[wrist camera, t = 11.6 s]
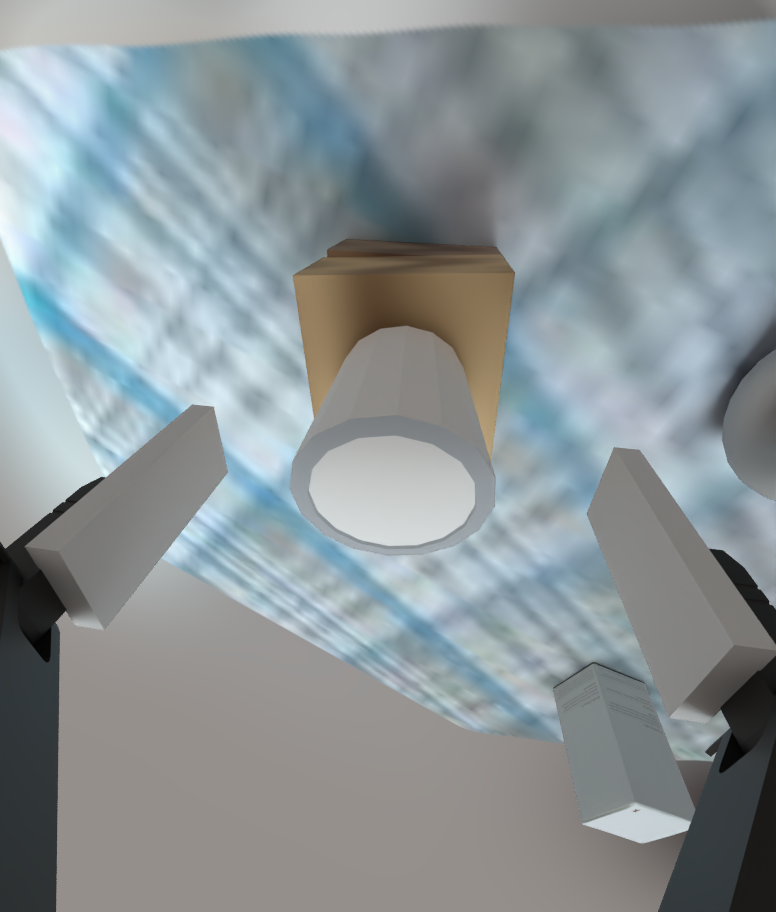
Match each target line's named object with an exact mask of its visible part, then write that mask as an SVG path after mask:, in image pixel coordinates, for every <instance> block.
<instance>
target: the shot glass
mask: <svg viewBox="0 0 776 912" xmlns="http://www.w3.org/2000/svg"><path fill="white" fill-rule="evenodd" d="M495 485H496V477H495V474H494V471H493V467H492V464H491V460H490V457H489V453H488V450H487V447H486V443H485V440H484V436H483V433H482V429H481V426H480V423H479V419H478V416H477V412H476V409H475V405H474V402H473V399H472V395H471V392H470V388H469V385H468V382H467V378H466V375H465V371H464V368H463V366H462V364H461V362H460V360H459V359H458V357H457V355H456V353H455V351H454V349H453V348H452V347H451V346H450V345H448V344H447V343H446V342H444V341H443V340H442V339H440V338H439V337H438V336H436V335H435V334H434V333H432V332H429V331H425V330H421V329H417V328H413V327H410V326H400V327H391V328H383V329H379V330H377V331H375V332H374V333H372V334H370V335H368V336H366V337H365V338H363V339H361V340H359V341H358V342H357V344H356V345H355V346H354V348H353V349H352V350H351V352H350V353H349V354H348V356H347V357H346V358H345V360H344V362H343V364H342V366H341V368H340V370H339V372H338V374H337V376H336V378H335V380H334V381H333V383H332V385H331V387H330V389H329V391H328V393H327V395H326V397H325V399H324V401H323V403H322V405H321V407H320V409H319V411H318V413H317V415H316V417H315V419H314V421H313V423H312V424H311V426H310V428H309V430H308V432H307V434H306V436H305V438H304V440H303V442H302V444H301V446H300V448H299V450H298V452H297V454H296V456H295V458H294V460H293V464H292V473H291V482H290V490H291V492H292V495H293V497H294V499H295V501H296V503H297V505H298V508H299V510H300V512H301V514H302V515H303V516H304V517H305V518H306V519H307V520H309V521H310V522H311V523H312V524H313V525H314V526H315V527H316V528H317V529H319V530H320V531H321V532H322V533H323V534H324V535H326V536H328V537H330V538H332V539H335V540H337V541H339V542H341V543H343V544H345V545H347V546H349V547H351V548H354V549H358V550H363V551H368V552H373V553H377V554H382V555H387V556H392V555H423V554H427V553H430V552H434V551H438V550H441V549H445V548H449V547H452V546H455V545H456V544H458V543H459V542H461V541H463V540H464V539H466V538H467V537H469V536H470V535H472V534H474V533H475V532H477V531H478V530H480V528H481V527H482V525H483V524H484V522H485V521H486V519H487V518H488V516H489V515H490V513H491V511H492V510H493V508H494V507H495Z"/></svg>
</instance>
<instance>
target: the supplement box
mask: <svg viewBox="0 0 776 912" xmlns="http://www.w3.org/2000/svg"><path fill="white" fill-rule="evenodd" d="M553 691H554V696H555V701H556V705H557V710H558V715H559V719H560V724H561V729H562V733H563V738H564V743H565V747H566V751H567V756H568V761H569V766H570V770H571V775H572V779H573V784H574V789H575V793H576V798H577V803H578V807H579V812H580V816H581V822H582V824H584V825H587V826H590V827H593V828H596V829H600V830H603V831H606V832H609V833H612V834H615V835H618V836H621V837H624V838H627V839H630V840H633V841H636V842H639V843H645V842H650V841H653V840H657V839H660V838H664V837H667V836H671V835H674V834H677V833H681V832H684V831H687V830H688V829H689V826H690V823H691V821H692V818H693V815H694V813H695V808H694V806H693V803H692V801H691V798H690V796H689V793H688V791H687V788H686V786H685V783H684V781H683V778H682V776H681V773H680V771H679V768H678V766H677V763H676V761H675V758H674V756H673V753H672V750H671V748H670V746H669V743H668V741H667V738H666V736H665V733H664V731H663V728H662V725H661V723H660V721H659V718H658V716H657V713H656V711H655V708H654V705H653V703H652V700H651V698H650V695H649V693H648V690H647V688H646V685H645V683H642V682H640V681H637V680H634V679H632V678H629V677H627V676H624V675H622V674H619V673H617V672H614V671H612V670H609V669H607V668H604V667H602V666H599V665H597V664H591V665H590V666H588V667H586V668H585V669H583V670H582V671H580V672H579V673H577V674H575V675H574V676H572V677H571V678H569V679H568V680H566V681H565V682H563V683H562V684H560V685H558V686H557V687H556V688H554V690H553Z"/></svg>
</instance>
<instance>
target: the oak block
mask: <svg viewBox="0 0 776 912" xmlns="http://www.w3.org/2000/svg"><path fill="white" fill-rule="evenodd" d="M514 277H515V272H514V271H513V269H512V268H511V267H510V265H509V264H508V263H507V261H506V260H505V259H504V257H503V256H502V255H501V254H490V255H435V256H380V257H324V258H321V259H320V260H318V261H316V262H315V263H313V264H311V265H310V266H308V267H306V268H305V269H303V270H301V271H300V272H298V273H296V274H295V275H293V279H294V286H295V293H296V300H297V306H298V313H299V320H300V326H301V333H302V340H303V347H304V353H305V360H306V367H307V373H308V380H309V387H310V394H311V400H312V407H313V414H314V419H315V417H316V415H317V413H318V411H319V409H320V407H321V405H322V403H323V401H324V399H325V397H326V395H327V393H328V391H329V389H330V387H331V385H332V383H333V381H334V380H335V378H336V376H337V374H338V372H339V370H340V368H341V366H342V364H343V362H344V360H345V358H346V357H347V356H348V354H349V353H350V352H351V350H352V349H353V348H354V346H355V345H356V344H357V342H358V341H359V340H361V339H363V338H365V337H366V336H368V335H370V334H372V333H374V332H375V331H377V330H379V329H383V328H391V327H400V326H410V327H413V328H417V329H421V330H425V331H429V332H432V333H434V334H435V335H436V336H438V337H439V338H440V339H442V340H443V341H444V342H446V343H447V344H448V345H450V346H451V347H452V348H453V349H454V351H455V353H456V355H457V357H458V359H459V360H460V362H461V364H462V366H463V368H464V371H465V375H466V378H467V382H468V385H469V388H470V392H471V395H472V399H473V402H474V405H475V409H476V412H477V416H478V419H479V423H480V426H481V429H482V433H483V436H484V440H485V443H486V447H487V450H488V453H489V457H490V460H491V456H492V448H493V440H494V433H495V425H496V417H497V409H498V401H499V394H500V386H501V378H502V370H503V362H504V355H505V347H506V339H507V331H508V323H509V316H510V308H511V300H512V292H513V284H514Z"/></svg>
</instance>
